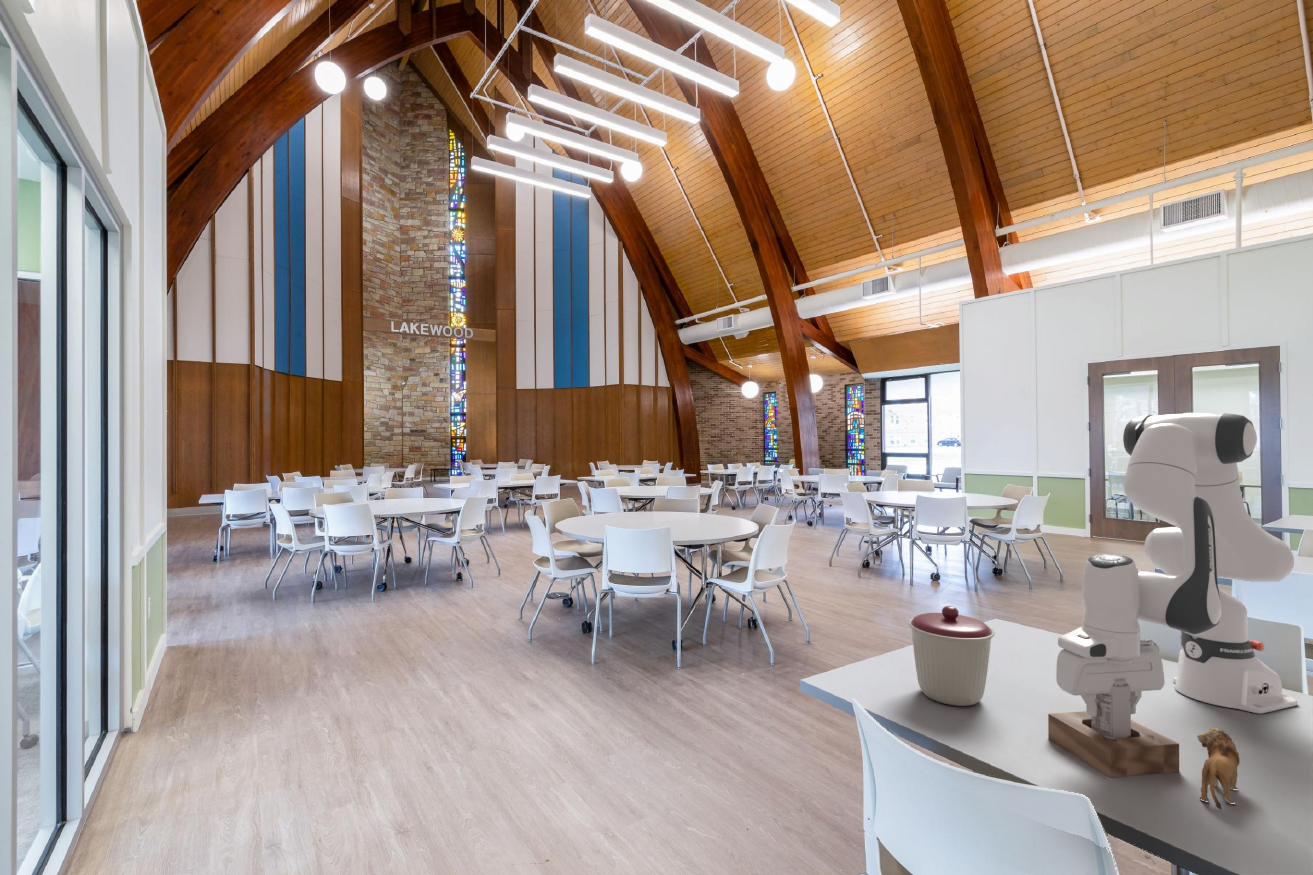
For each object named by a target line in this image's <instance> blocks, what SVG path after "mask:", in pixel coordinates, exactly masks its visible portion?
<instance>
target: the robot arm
mask: <svg viewBox="0 0 1313 875" xmlns="http://www.w3.org/2000/svg"><path fill="white" fill-rule="evenodd" d="M1257 441H1258V438H1257V432H1256V428H1255V427H1254V423H1253V422H1252V420H1250V419H1248V418H1247V417H1246V416H1245V415H1240V414H1237V413H1227V412H1225V413H1222V414H1220V413H1209V412H1208V413H1207V412H1184V413H1172V414H1171V413H1170V414H1160V415H1152V414H1148V415H1147V414H1146V415H1141V416H1137V417H1134V418H1132V419H1131V420H1130V421H1129V422H1128V423H1127V424H1126V426H1125V428H1124V430H1123V437H1122V442H1123V447H1124V450H1125V451H1126V453H1127V454H1128V455H1129V456H1130V458H1129V461H1128V465H1127V468H1126V471H1125V477H1124V483H1123V484H1124V485H1123V486H1124V487H1123V488H1124V493H1125V496H1126V498H1127V499H1128V501H1129V502H1130V503H1131V504H1132V505H1133V506H1134V507H1135V508H1137V509H1138V510H1140V512H1143V513H1145V514H1147V515H1148V516H1151V517H1152V518H1155V519H1158V520H1159V521H1162V522H1165V523H1167V524H1170V525H1172V526H1167V527H1157V528H1154V529H1153V530H1151V531H1150V532H1149V533H1148V535H1147V536H1146V538H1145V541H1144V552H1145V554H1146V557H1147V558H1148V560H1149V561H1150V563H1152V564H1153V565H1154V566H1156V567H1157V568H1158V569H1160V571H1162V572H1163V573H1162V572H1161V573H1160V572H1155V571H1154V572H1153V571H1149V570H1148V571H1147V570H1144V569H1139V568H1138V567H1137V565H1136V562H1135V560H1133V558H1131V557H1129V556H1127V555H1121V554H1117V553H1098V554H1094V555H1092V556H1090V557H1087V559H1086V561H1085V562H1084V563H1085V564H1084V568H1083V572H1082V573H1083V575H1082V582H1081V583H1082V585H1081V600H1082V604H1083V608H1084V609H1083V610H1084V613H1083V615H1082V616H1083V617H1082V618H1081V619H1082V620H1081V626H1080V627H1076V628H1075V629H1074V630H1072V631H1070V632H1067V633H1065V634H1062V635H1060V636H1059V637H1058V639H1057V645H1058V647H1059V648H1061V650H1060V651H1059V652H1058V654H1057V658H1056V671H1055V672H1056V674H1055V675H1056V683H1057V685H1058V687H1059V688H1060V689H1061V690H1062V691H1063V692H1065V693H1068V694H1069V695H1071V696H1080V697H1081V698H1082V700H1083V702H1084V704H1085V705H1086V711H1087V714H1088V715H1090V716H1092V717H1098V716H1101V708H1100V707H1098V706H1096V704H1095V702H1094V699H1096V694H1106V693H1109V692H1110V688H1111V686H1112V685H1113V683H1114V682H1115V681H1114V679H1117V680H1119V679H1126V682H1127V683H1128V685H1129V686H1130V689H1131V715H1136V710H1137V705H1138V703H1139V701H1140V699H1141V698H1142V692H1148V691H1160V690H1162V689H1163V687H1164V686H1165V682H1166V681H1165V673H1164V671H1165V670H1164V665H1163V660H1162V657H1161V655H1160V647H1159V645H1158V644H1157V643H1156V642H1155V641H1153V640H1152V639H1150V638H1149V639H1148V638H1145V639H1141V626H1140V624H1139V621H1143V622H1147V623H1152V624H1156V625H1162V626H1166V627H1169V628H1172V629H1174V630H1178V631H1180V636H1179V637H1180V645H1181V646H1182V649H1180V650H1179V653H1178V663H1177V671H1176V676H1173V680H1172V681H1173V683H1175V685H1174V689H1175V690H1176V691H1177V692H1179V693H1180V694H1182V695H1184V696H1186V697H1189V698H1191V699H1193V700H1197V701H1200V702H1203V703H1207V704H1209V705H1210V704H1211V705H1215V706H1219V707H1224V708H1230V709H1238V710H1241V711H1245V712H1248V713H1249V712H1251V713H1254V714H1265V713H1270V712H1274V711H1278V710H1282V709H1286V708H1290V707H1295V706H1298V704H1299V703H1298V700H1297V699H1296V698H1294V697H1292V696H1290V695H1289V694H1286V693H1284V692H1283V685H1282V679H1281V677H1280V675H1279V674H1278V673H1277V672H1275V671H1274V670H1273V669H1271V668H1270V667H1269V666H1267V665H1266V663H1263V662H1262V661H1261V660H1260V659H1258V658H1257V657H1256V655H1255V652H1254V650H1257V651H1258V652H1262V651H1264V649H1265V644H1264V643H1263V642H1261V641H1256V640H1255V639H1254V640H1253V639H1251V640H1249V639H1248V638H1249V637H1248V635H1249V634H1248V632H1249V631H1248V627H1249V626H1248V609H1247V608H1246V605H1244V603H1243V602H1242V601H1241V600H1239V599H1238V598H1236V597H1235V596H1233V595H1232V594H1230V593H1228V592H1226V591H1223V590H1222V589H1220V588H1219V585H1218V578H1222V579H1229V580H1237V581H1244V582H1251V583H1257V582H1259V583H1262V582H1263V583H1265V582H1267V583H1270V582H1272V583H1273V582H1282V581H1283V580H1285V579H1286V578H1287V577H1288V576H1289V575H1290V574H1291V573H1292V571H1293V568H1294V565H1295V557H1294V555H1293V554H1294V553H1293V552H1292V550H1291V548H1290V547H1289V546H1288V545H1287V543H1285V542H1284V541H1283V540H1282V539H1280V538H1278V537H1276V536H1275V535H1272V534H1271V533H1269V532H1267V531H1266V530H1265V529H1264V528H1262V527H1261V526H1260V525H1259V524H1258V523H1256V522H1255V520H1254V519H1253V518H1252V517H1251V516H1250V515H1249V512H1248V511H1247V510H1246V507H1245V504H1244V501H1243V496H1242V491H1241V486H1240V476H1239V468H1238V464H1237V463H1243V462H1244V461H1245V460H1246V459H1248V458H1250V457H1252V455H1253V453H1254V449H1256V445H1257Z"/></svg>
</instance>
